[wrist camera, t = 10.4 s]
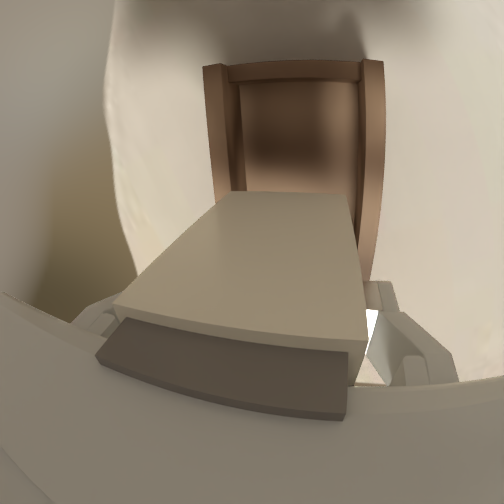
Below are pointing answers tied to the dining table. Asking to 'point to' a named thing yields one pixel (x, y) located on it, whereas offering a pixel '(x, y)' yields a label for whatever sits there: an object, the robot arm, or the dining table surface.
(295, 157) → the pusher lane
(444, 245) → the dining table surface
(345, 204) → the cream rectangular box
